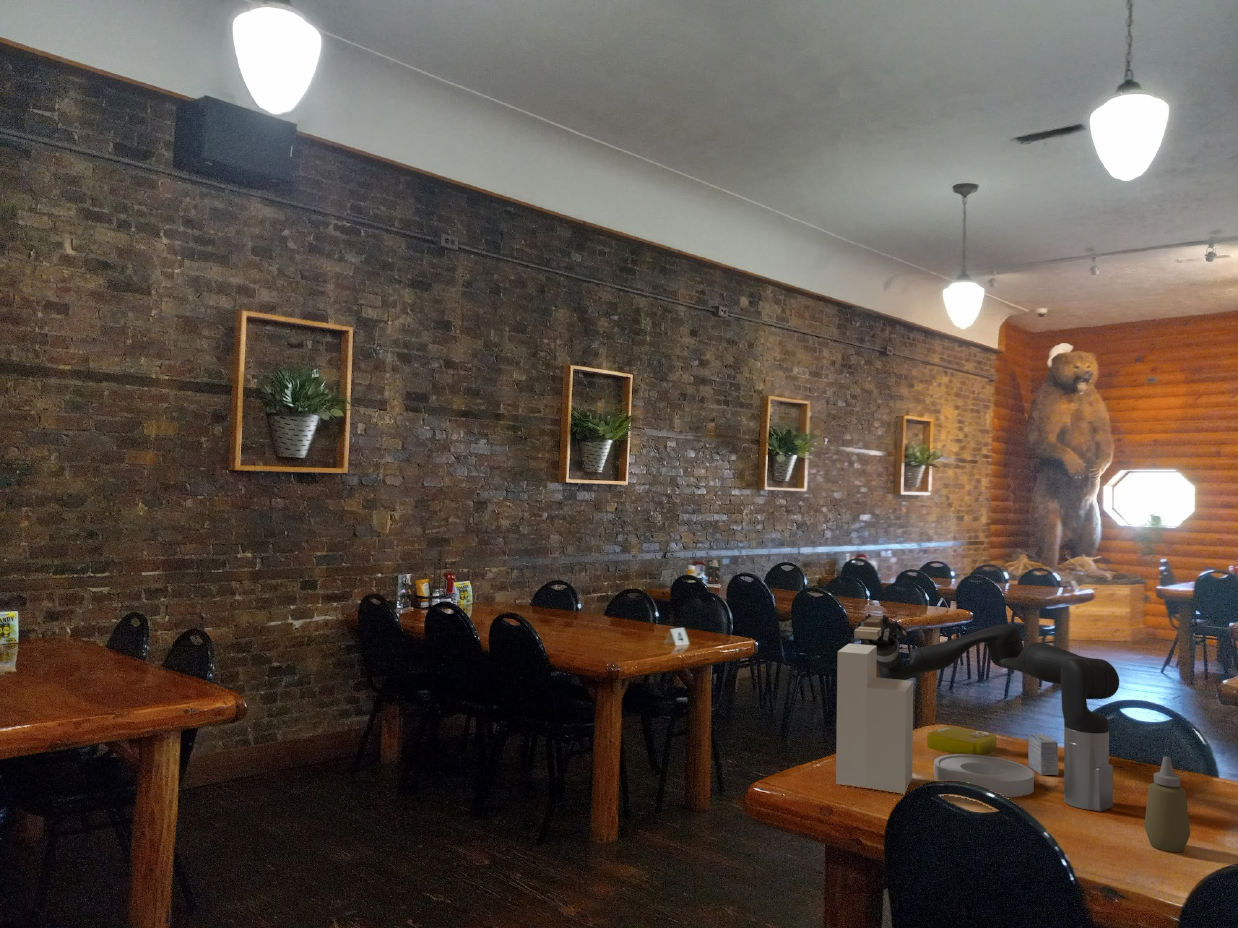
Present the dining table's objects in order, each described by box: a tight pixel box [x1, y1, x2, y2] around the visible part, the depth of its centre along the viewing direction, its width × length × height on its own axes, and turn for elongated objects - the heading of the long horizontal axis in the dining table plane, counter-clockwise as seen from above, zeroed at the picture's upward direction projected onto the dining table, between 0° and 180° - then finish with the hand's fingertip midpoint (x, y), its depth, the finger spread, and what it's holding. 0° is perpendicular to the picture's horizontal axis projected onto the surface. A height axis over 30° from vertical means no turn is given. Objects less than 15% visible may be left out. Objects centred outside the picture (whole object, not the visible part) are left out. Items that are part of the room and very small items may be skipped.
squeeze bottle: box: [1143, 755, 1191, 853], centre depth 185 cm, size 8×8×18 cm
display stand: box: [835, 643, 914, 796], centre depth 226 cm, size 15×16×32 cm
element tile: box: [927, 725, 997, 756], centre depth 259 cm, size 15×15×5 cm
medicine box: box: [1027, 733, 1059, 776], centre depth 237 cm, size 8×4×9 cm, turn 179°
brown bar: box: [853, 614, 884, 640], centre depth 231 cm, size 24×5×3 cm, turn 157°
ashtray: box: [933, 754, 1036, 798], centre depth 227 cm, size 23×23×4 cm
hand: (876, 618), depth 237 cm, fingers closed on brown bar, 3 cm apart
